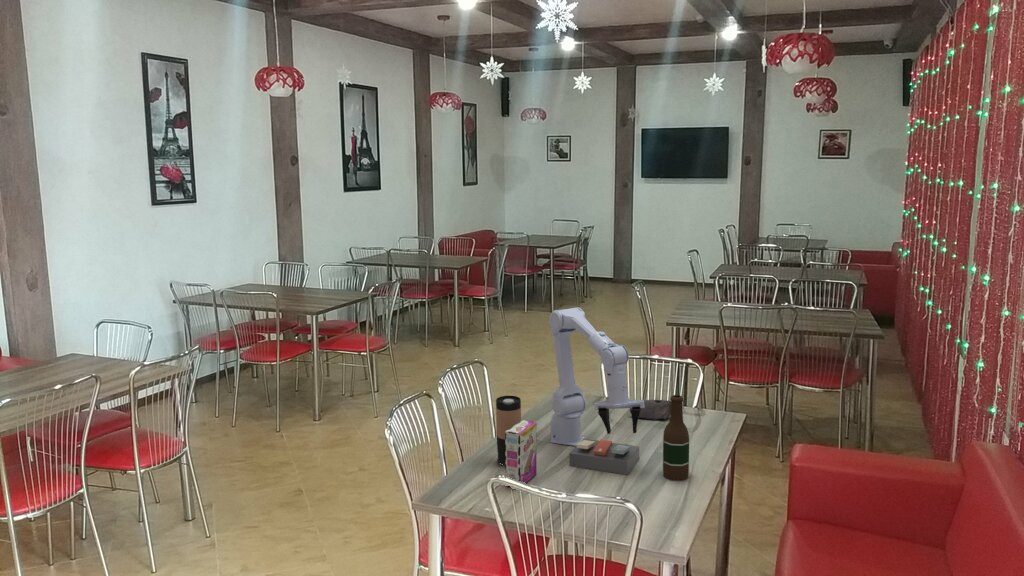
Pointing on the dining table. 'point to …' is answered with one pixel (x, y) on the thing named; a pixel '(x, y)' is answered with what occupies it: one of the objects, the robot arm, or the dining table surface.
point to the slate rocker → (620, 449)
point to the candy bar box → (521, 451)
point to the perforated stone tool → (655, 409)
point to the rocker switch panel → (604, 459)
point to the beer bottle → (676, 443)
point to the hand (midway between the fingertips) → (621, 432)
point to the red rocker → (602, 447)
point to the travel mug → (506, 420)
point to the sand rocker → (585, 444)
